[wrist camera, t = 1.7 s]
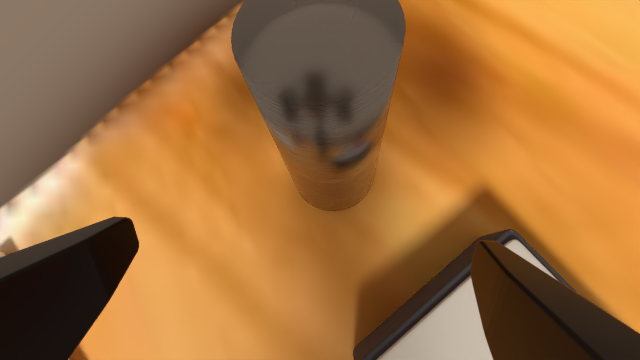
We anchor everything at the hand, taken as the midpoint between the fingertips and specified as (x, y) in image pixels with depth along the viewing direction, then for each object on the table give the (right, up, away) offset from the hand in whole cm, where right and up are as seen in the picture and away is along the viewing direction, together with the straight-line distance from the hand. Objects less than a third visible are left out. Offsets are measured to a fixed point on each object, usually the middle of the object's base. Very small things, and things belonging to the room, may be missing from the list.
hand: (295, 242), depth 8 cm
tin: (+2, +2, +14) cm, 14 cm away
